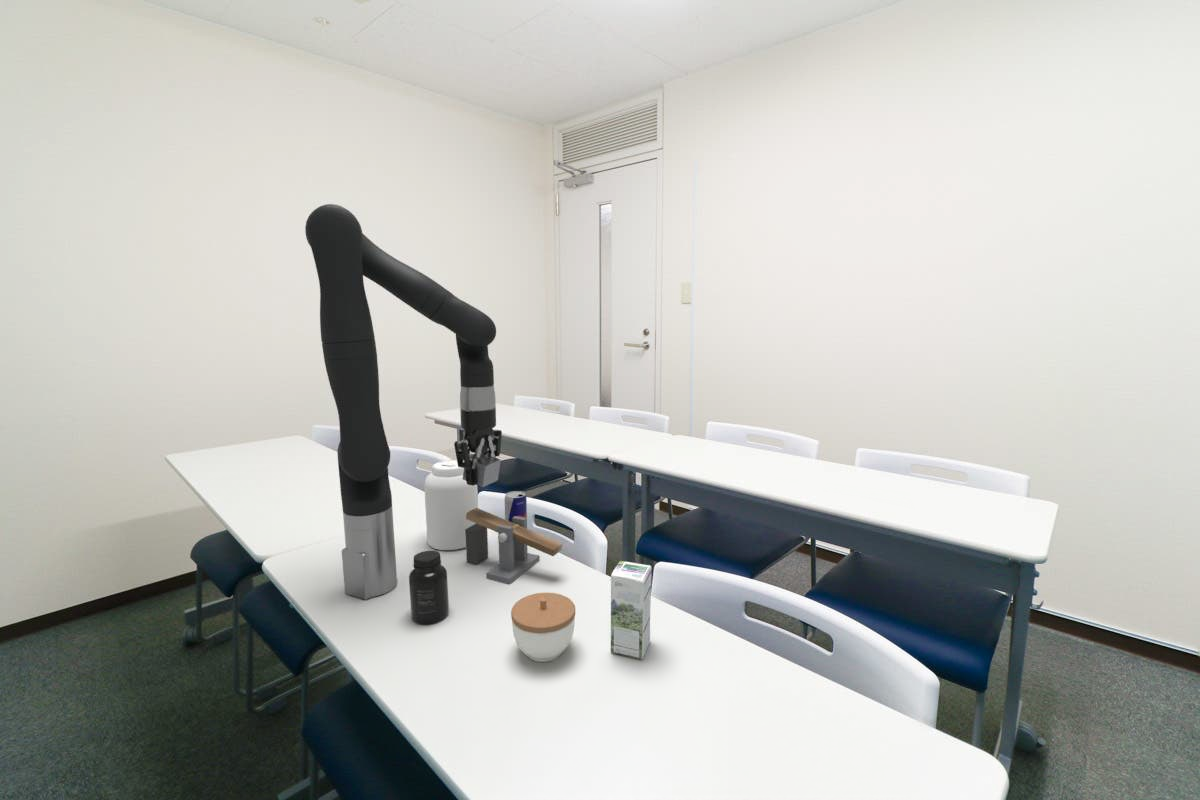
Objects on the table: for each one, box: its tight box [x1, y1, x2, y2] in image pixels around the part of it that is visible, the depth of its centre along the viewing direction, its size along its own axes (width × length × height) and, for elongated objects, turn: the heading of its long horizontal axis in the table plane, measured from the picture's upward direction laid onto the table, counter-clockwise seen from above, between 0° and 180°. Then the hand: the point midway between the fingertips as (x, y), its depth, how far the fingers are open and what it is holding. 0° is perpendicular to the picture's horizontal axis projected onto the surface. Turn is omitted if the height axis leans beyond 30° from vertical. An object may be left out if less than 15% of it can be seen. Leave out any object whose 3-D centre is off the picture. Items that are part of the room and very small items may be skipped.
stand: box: [465, 516, 541, 585], centre depth 121 cm, size 12×14×11 cm
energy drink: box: [504, 490, 528, 523], centre depth 134 cm, size 5×5×12 cm
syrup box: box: [610, 560, 652, 660], centre depth 91 cm, size 6×6×14 cm
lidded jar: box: [510, 592, 576, 663], centre depth 91 cm, size 11×11×9 cm
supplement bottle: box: [408, 549, 450, 625], centre depth 101 cm, size 7×7×12 cm
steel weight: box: [463, 453, 501, 488], centre depth 120 cm, size 6×6×5 cm
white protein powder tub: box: [423, 459, 479, 551], centre depth 133 cm, size 12×12×20 cm
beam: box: [466, 507, 563, 557], centre depth 119 cm, size 4×23×2 cm, turn 65°
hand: (480, 480), depth 120 cm, fingers closed on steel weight, 5 cm apart
